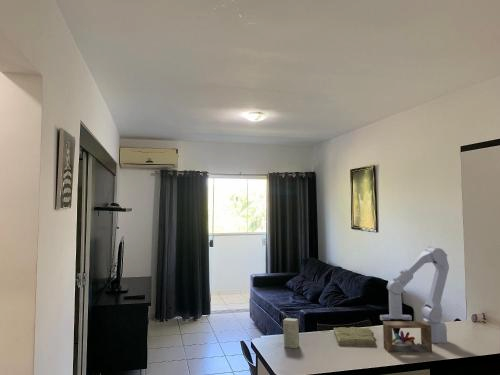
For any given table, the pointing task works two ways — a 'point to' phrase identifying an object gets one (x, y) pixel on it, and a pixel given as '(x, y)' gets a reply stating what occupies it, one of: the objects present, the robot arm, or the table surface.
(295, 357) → the table surface
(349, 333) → the folded green towel
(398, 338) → the multicoloured spiky piece
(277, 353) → the table surface
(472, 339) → the table surface
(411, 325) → the walnut shelf
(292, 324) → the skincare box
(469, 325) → the table surface
